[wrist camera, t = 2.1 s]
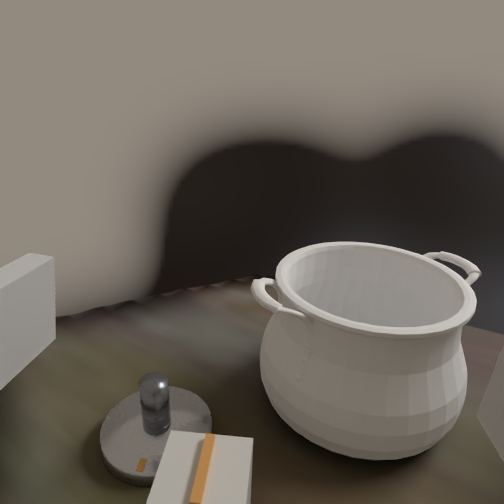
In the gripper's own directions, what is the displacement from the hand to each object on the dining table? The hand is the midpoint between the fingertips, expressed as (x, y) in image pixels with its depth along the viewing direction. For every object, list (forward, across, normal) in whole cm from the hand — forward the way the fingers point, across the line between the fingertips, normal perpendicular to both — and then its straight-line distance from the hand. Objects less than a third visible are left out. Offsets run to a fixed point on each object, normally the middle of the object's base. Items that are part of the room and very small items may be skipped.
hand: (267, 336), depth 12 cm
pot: (+36, +13, -27) cm, 47 cm away
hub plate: (+26, -9, -30) cm, 41 cm away
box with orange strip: (+15, -2, -30) cm, 34 cm away
